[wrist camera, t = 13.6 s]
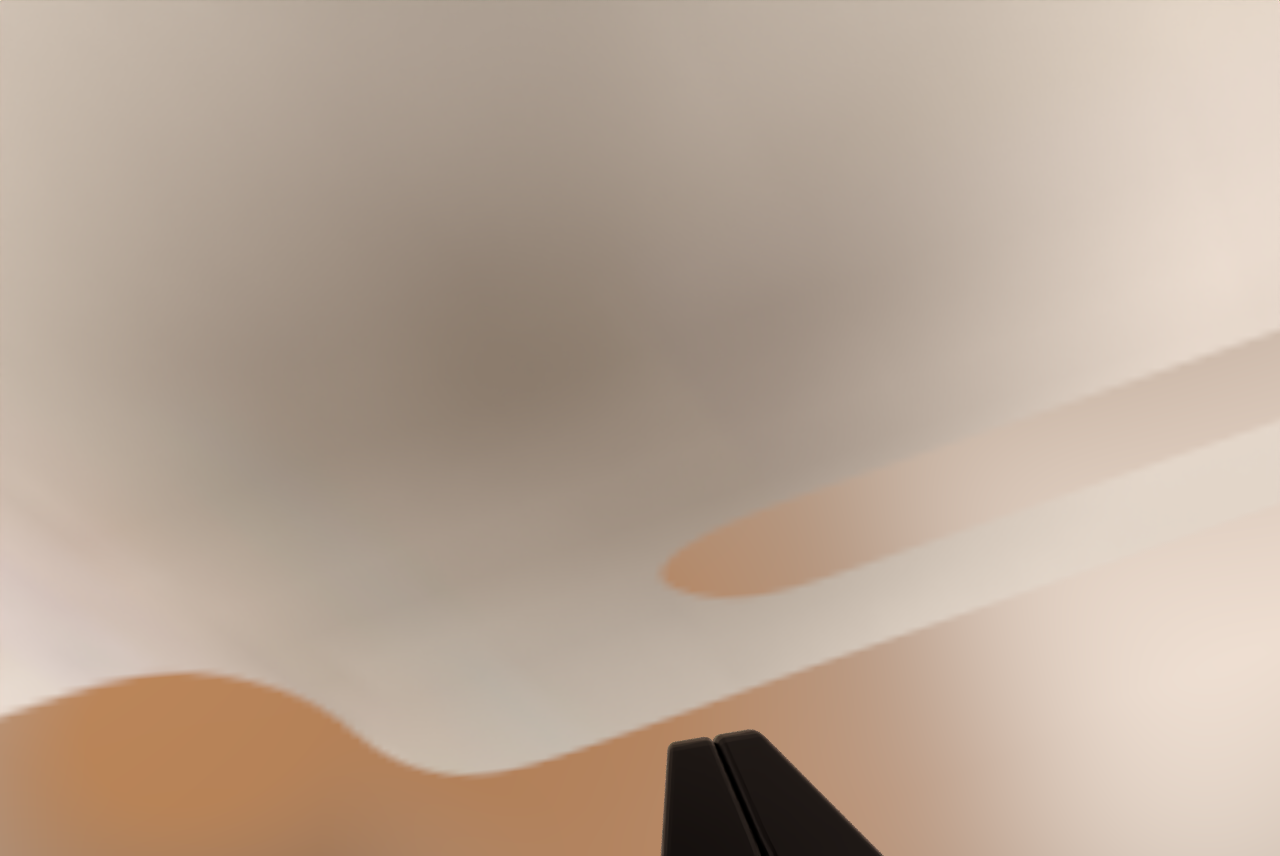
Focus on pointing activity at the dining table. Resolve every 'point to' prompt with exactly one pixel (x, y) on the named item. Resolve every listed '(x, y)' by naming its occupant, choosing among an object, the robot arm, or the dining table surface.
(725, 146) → the dining table surface
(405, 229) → the dining table surface
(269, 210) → the dining table surface
